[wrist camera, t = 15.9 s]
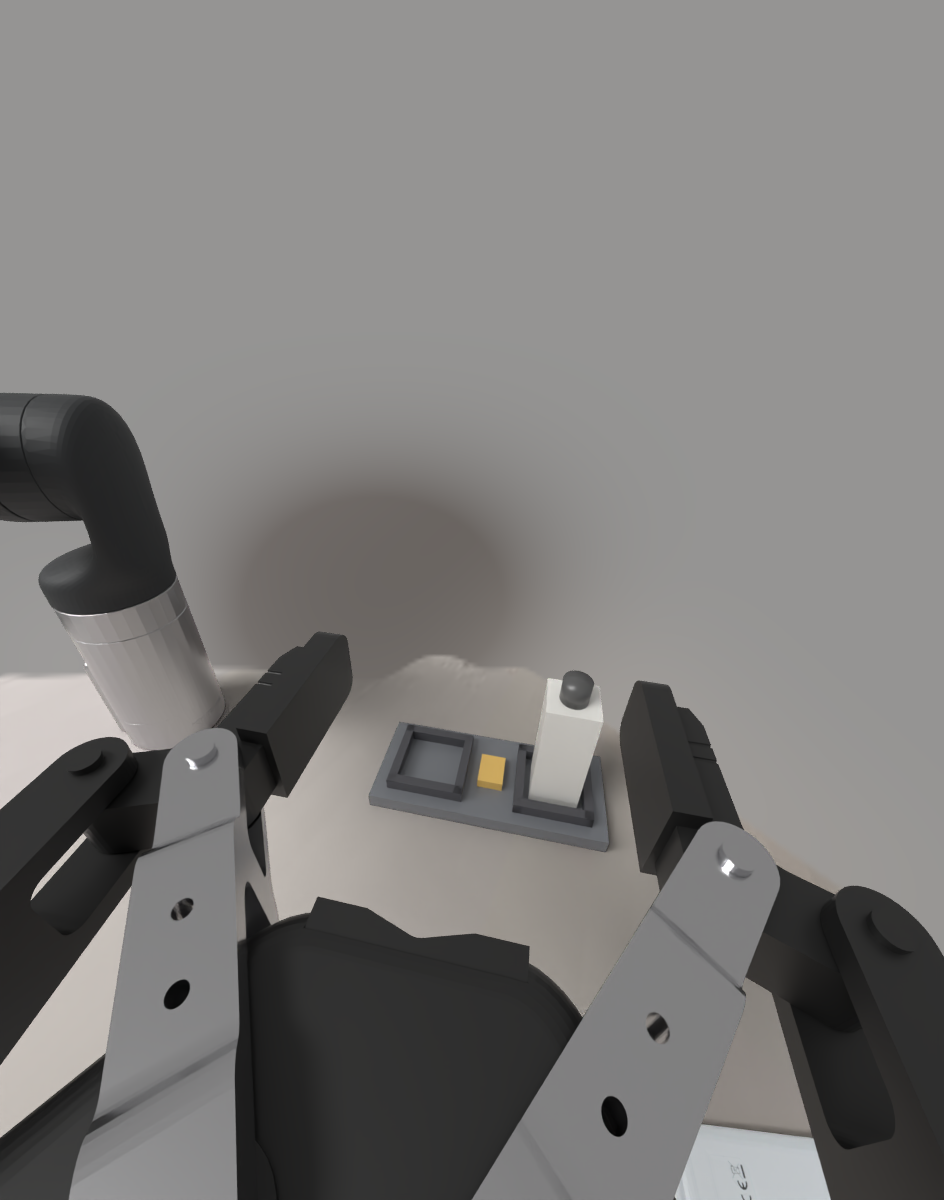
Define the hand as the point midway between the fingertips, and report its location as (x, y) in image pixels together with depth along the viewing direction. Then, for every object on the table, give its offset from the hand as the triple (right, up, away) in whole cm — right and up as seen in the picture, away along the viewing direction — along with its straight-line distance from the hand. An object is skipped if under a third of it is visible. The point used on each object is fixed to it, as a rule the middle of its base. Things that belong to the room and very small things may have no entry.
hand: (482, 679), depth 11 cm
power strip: (+2, -16, +30) cm, 35 cm away
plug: (+8, -16, +29) cm, 34 cm away
